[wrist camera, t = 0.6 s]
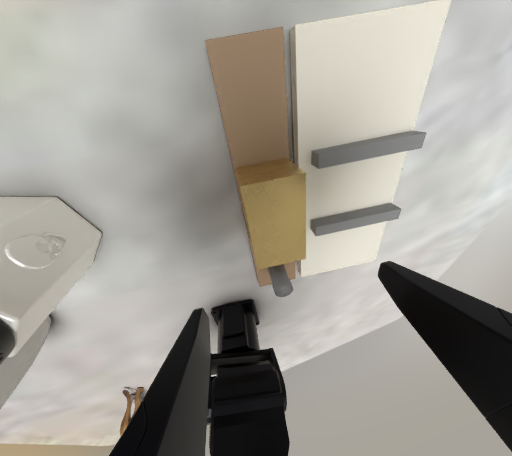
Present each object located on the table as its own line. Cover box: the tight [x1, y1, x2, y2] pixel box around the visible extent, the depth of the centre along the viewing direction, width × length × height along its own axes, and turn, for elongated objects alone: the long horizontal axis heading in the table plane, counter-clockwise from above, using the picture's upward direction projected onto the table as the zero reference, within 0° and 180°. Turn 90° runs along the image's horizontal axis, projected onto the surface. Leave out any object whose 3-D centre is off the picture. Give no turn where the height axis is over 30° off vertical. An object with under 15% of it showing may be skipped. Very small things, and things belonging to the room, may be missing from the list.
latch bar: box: [236, 158, 306, 270], centre depth 16 cm, size 8×4×4 cm, turn 9°
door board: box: [205, 0, 451, 297], centre depth 17 cm, size 24×16×5 cm
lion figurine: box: [120, 388, 143, 436], centre depth 38 cm, size 15×5×9 cm, turn 15°
